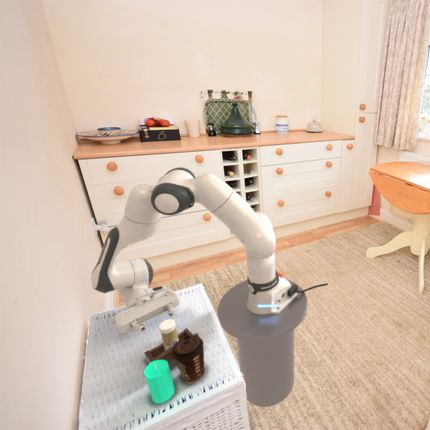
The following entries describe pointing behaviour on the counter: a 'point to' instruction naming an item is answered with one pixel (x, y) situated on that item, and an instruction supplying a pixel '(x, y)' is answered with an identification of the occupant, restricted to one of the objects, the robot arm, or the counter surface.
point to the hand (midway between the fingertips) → (157, 321)
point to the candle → (159, 381)
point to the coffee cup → (189, 357)
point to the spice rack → (165, 354)
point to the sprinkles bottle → (168, 333)
